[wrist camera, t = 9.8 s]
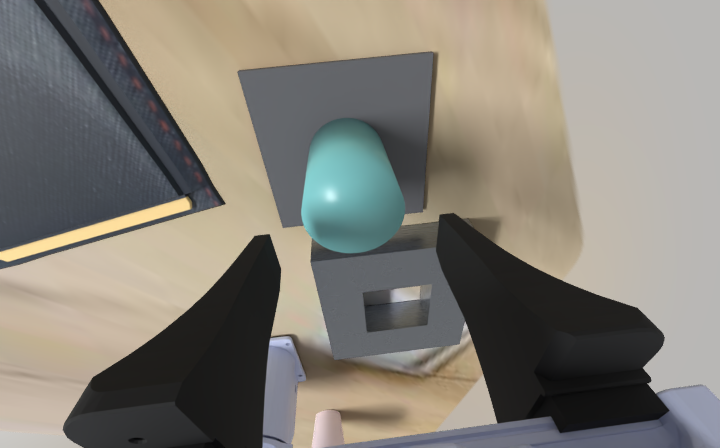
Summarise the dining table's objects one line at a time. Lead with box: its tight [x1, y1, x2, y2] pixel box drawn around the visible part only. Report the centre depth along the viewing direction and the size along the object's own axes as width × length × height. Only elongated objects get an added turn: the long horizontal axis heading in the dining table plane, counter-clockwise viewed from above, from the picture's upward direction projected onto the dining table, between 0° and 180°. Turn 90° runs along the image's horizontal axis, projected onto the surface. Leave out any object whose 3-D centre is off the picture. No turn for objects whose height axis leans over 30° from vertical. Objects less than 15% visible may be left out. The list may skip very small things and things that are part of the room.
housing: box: [311, 219, 475, 360], centre depth 28 cm, size 14×13×3 cm
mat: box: [238, 52, 433, 228], centre depth 20 cm, size 11×11×1 cm
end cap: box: [301, 118, 405, 253], centre depth 17 cm, size 5×5×7 cm
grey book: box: [0, 0, 225, 269], centre depth 18 cm, size 20×2×15 cm
